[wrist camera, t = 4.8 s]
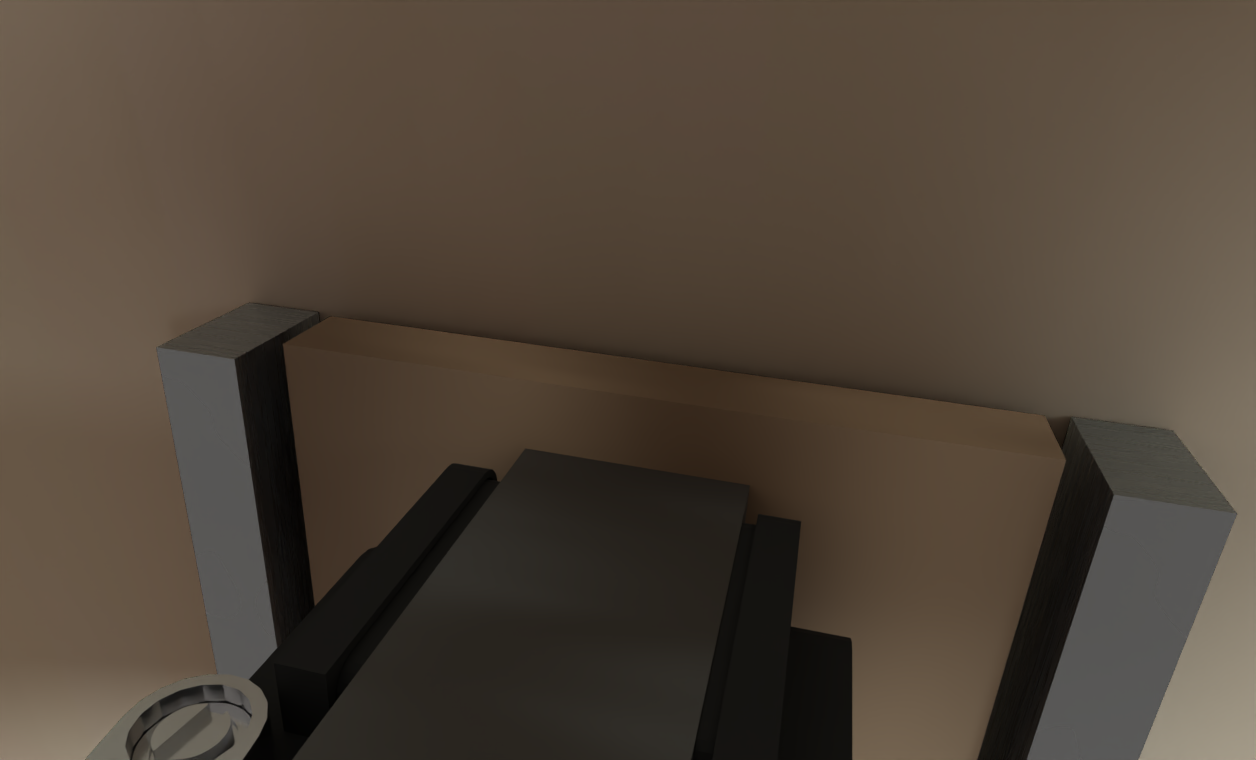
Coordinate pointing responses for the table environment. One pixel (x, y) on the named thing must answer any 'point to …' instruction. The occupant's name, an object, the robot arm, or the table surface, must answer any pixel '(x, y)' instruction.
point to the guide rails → (1046, 631)
